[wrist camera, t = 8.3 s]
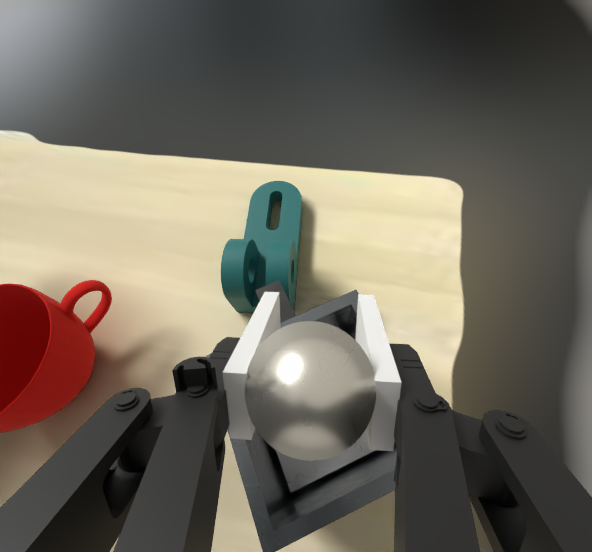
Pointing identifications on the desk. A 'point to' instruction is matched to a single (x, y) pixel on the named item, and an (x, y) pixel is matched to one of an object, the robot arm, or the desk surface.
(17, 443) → the desk surface
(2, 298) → the ceramic cup
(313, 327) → the plunger
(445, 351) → the desk surface
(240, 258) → the bracket
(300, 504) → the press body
